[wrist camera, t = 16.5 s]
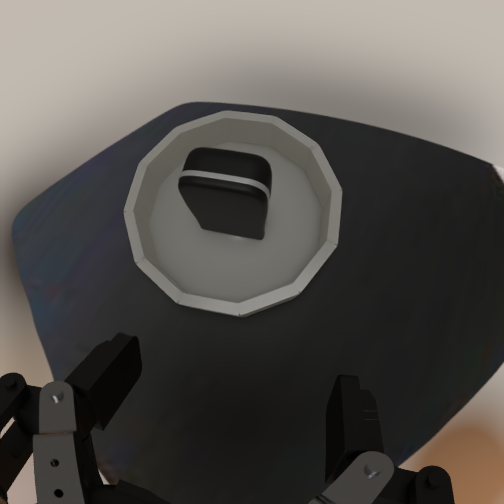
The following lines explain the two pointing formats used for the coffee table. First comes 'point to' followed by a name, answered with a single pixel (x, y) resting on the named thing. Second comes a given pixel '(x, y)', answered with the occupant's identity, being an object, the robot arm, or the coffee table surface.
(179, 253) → the bowl
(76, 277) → the coffee table surface
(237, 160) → the battery charger
